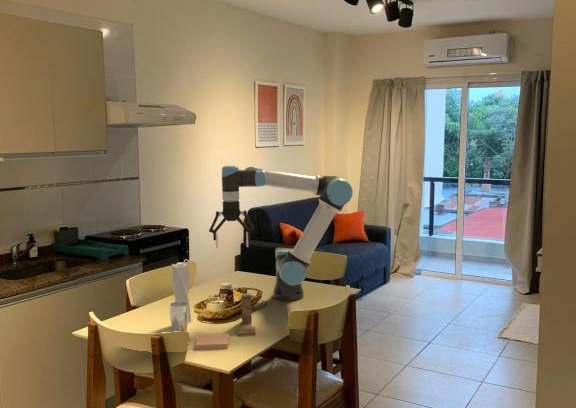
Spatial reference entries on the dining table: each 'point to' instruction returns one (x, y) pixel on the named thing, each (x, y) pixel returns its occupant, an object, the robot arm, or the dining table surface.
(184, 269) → the skyscraper
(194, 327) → the dining table surface
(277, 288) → the robot arm
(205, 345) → the tile
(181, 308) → the beer glass
